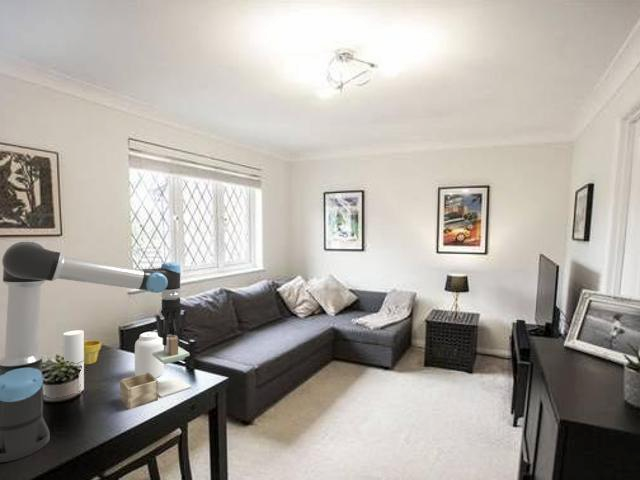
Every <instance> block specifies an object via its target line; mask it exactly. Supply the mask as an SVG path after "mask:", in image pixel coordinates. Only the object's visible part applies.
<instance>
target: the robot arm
mask: <svg viewBox="0 0 640 480" xmlns="http://www.w3.org/2000/svg"><path fill="white" fill-rule="evenodd" d="M1 264H2V267H3V268H2V269H3V270H2V273H3V274H2V283H4V285H6V286H7V287H8V289H7V290H8V291H7V309H6V323H5V324H6V327H5V344H4V345H5V348H4V357H2V358H1V359H0V463H5V462H6V463H7V462H13V461H17V460H19V459H22V458H25V457H28V456H30V455H32V454H34V453H36V452H38V451H40V450H42V448H44V447H45V446H47V444H48V443H49V441H50V429H49V427H48V425H47V423H46V421H45V419H44V417H43V416H44V413H43V411H44V409H43V405H44V404H43V398H44V397H43V396H44V395H43V390H44V389H43V387H44V386H43V384H44V376H43V373H42V371H43V355H42V354H41V353H39V352H38V346H39V345H38V344H39V331H40V330H39V326H40V308H41V307H40V306H41V291H42V289H41V288H42V285H43V284H44V283H46V282H47V281H50V282H53V281H56V280H58V279H59V280H66V281H74V282H80V283H81V282H82V283H87V284H88V283H89V284H95V285H96V284H97V285H103V286H110V287H111V286H112V287H117V288H127V289H133V290H134V289H135V290H139V291H147V292H150V293H154V294H159V293H161V298H162V299H161V310H160V312H159V313H158V314H154V318H155V320H156V332H158V336H159V337H160V338H163V345H164V346H165V352H166V353H169V338H168V337H167V335H169V327H170V326H169V325H170V322H171V320H172V323H173V330H174V334H172V335H173V336H175V337H176V338H178V343H180V336H181V334H184V332H185V325H186V324H185V322H186V316H187V313H188V312H187V310H183V309H182V308H181V298H180V297H181V265H180V263H178V262H176V261H175V262H163V263H162V264H161V266H160V267H156V268H134V267H128V266H121V265H117V264H116V265H115V264H110V263H106V262H100V261H99V262H98V261H93V260H88V259H83V258H82V259H81V258H75V257H72V256H71V257H70V256H64V254H63V253H62V252H58V251H54V250H50V249H46V248H45V247H43V246H42V245H41V244H39V243H37V242H34V241H21V242H17V243H14V244H12V245H10V246H9V247H8V248H7V249H6V250H5V252H4V254H3V256H2V261H1ZM179 315H180V316H179ZM162 317H163V322H162ZM162 323H163V324H162Z"/></svg>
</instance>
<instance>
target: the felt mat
mask: <svg viewBox="0 0 640 480" xmlns="http://www.w3.org/2000/svg"><path fill="white" fill-rule="evenodd" d="M190 389H192V385H191V384H189V383H187V382H186V381H185V380H183V379H182V378H181V377H180V376H178V377H175V378H171V379H168V380H164V381H161V382H158V398H160V399H161V398H166V397H168V396H172V395H175V394H178V393H181V392H185V391H187V390H190Z"/></svg>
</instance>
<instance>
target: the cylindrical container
mask: <svg viewBox="0 0 640 480" xmlns="http://www.w3.org/2000/svg"><path fill="white" fill-rule="evenodd" d="M84 332H85V330H81V329H79V330H77V329H76V330H70V331H65V332H64V333H63V335H62V338H63V339H62V340H63V341H62V343H63V345H62V347H63V350H62V353H63V356H62V357H63V358H64V360H66V361H69V362H74V363H77V364H79V365H81V366H82V369H81V371H80V384H81V391H80V392H79V393H81V392H82V391H84V389H85V370H84V369H85V367H84V366H85V364H84V342H85V339H84V338H85V334H84Z"/></svg>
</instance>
